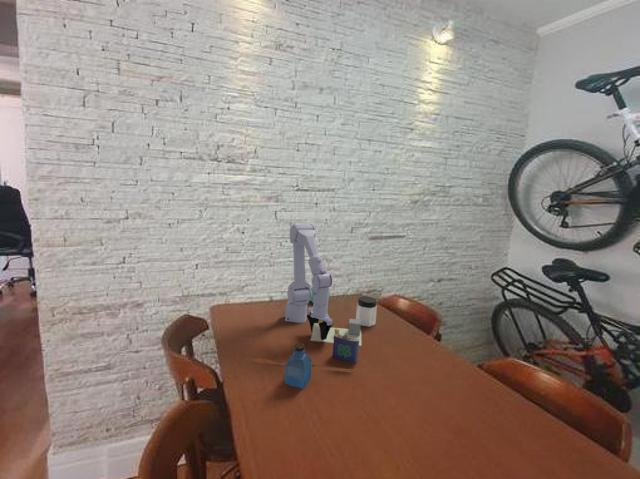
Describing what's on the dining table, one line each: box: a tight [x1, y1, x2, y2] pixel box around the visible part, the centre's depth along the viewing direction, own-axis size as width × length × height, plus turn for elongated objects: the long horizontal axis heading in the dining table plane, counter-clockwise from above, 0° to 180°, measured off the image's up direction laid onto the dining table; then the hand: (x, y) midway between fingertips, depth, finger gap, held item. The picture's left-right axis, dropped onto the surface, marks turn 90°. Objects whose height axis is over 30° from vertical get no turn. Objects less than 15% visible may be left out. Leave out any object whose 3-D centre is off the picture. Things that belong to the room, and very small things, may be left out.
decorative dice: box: [310, 286, 331, 303], centre depth 175 cm, size 8×8×8 cm
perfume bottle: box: [284, 342, 312, 390], centre depth 103 cm, size 6×6×12 cm
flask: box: [332, 333, 359, 363], centre depth 116 cm, size 9×3×11 cm, turn 68°
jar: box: [355, 295, 378, 328], centre depth 149 cm, size 9×8×12 cm
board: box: [309, 327, 362, 347], centre depth 135 cm, size 20×14×4 cm
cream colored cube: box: [311, 322, 324, 342], centre depth 132 cm, size 5×5×5 cm
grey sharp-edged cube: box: [348, 318, 362, 336], centre depth 138 cm, size 5×5×5 cm
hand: (318, 335), depth 132 cm, fingers closed on cream colored cube, 6 cm apart
